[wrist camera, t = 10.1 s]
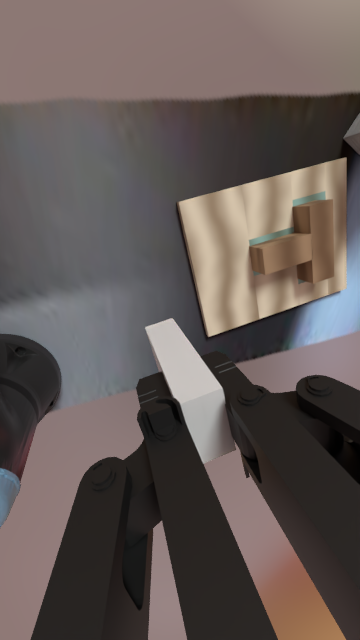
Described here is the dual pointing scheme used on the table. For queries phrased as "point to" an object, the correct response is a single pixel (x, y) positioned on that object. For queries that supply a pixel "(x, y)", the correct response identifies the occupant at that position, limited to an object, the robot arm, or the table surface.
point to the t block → (301, 245)
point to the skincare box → (354, 135)
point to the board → (252, 228)
